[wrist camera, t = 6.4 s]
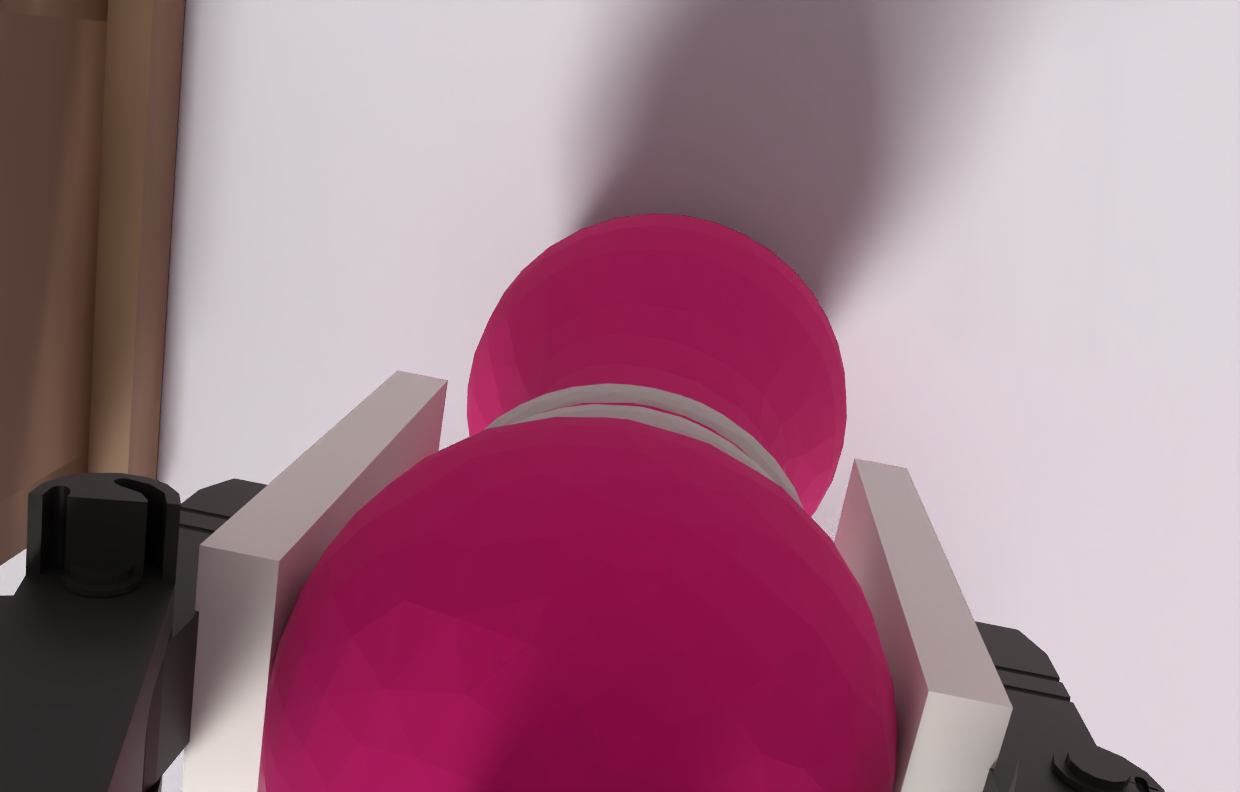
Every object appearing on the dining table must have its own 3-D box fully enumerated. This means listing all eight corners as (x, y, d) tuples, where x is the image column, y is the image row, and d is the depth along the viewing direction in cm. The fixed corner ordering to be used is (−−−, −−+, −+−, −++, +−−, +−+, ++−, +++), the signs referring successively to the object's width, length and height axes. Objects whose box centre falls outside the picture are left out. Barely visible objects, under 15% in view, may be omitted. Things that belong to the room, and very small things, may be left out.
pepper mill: (569, 146, 25) (67, 362, 6) (878, 256, 25) (1323, 812, 6) (474, 439, 27) (-121, 1281, 8) (761, 541, 28) (825, 1616, 8)
